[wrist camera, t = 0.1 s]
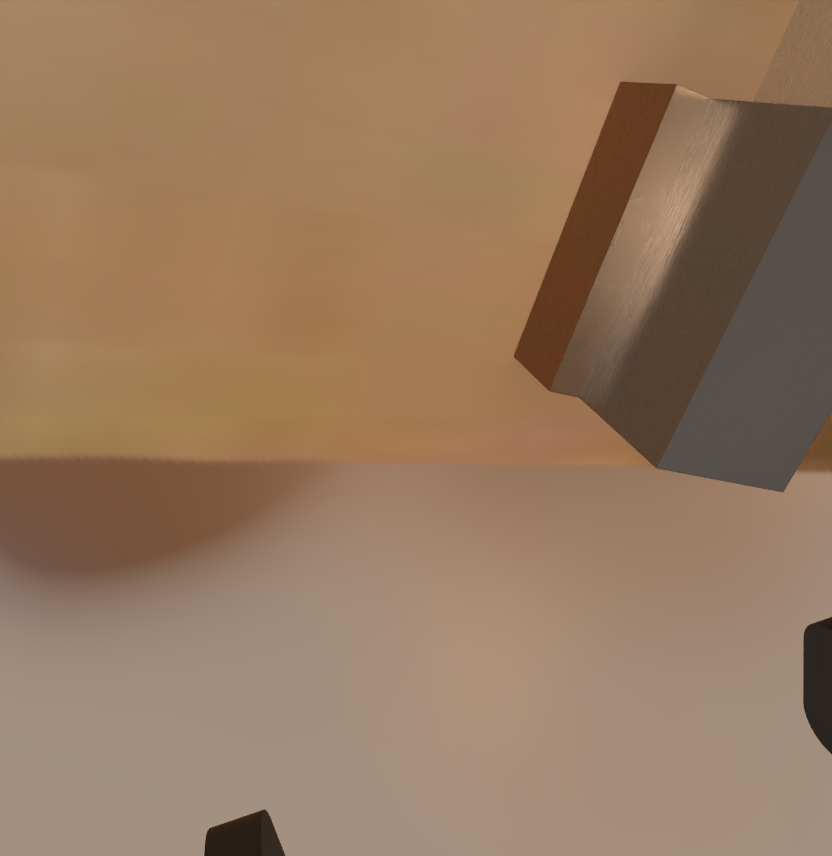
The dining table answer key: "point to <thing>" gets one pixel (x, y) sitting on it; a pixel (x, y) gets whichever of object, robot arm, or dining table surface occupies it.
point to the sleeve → (697, 284)
